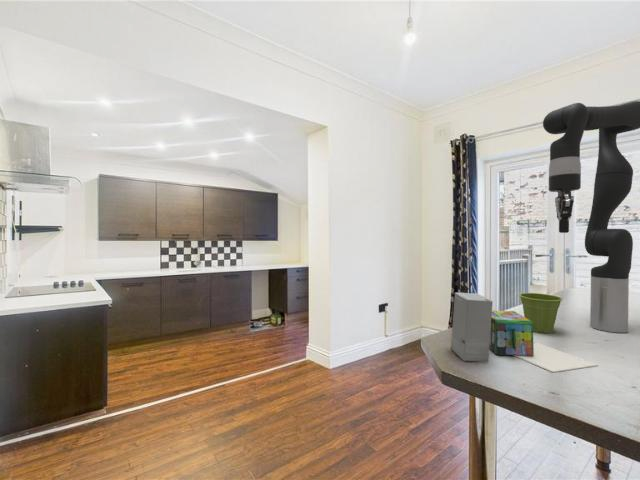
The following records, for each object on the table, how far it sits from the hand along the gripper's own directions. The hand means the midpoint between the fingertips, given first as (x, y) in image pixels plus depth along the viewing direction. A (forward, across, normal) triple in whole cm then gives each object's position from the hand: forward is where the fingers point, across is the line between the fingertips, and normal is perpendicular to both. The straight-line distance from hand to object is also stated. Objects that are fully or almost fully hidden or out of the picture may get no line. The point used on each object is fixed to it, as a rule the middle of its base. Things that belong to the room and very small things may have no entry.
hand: (563, 232), depth 93 cm
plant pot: (+32, +7, +5) cm, 33 cm away
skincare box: (+32, -28, +23) cm, 48 cm away
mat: (+32, -19, +7) cm, 38 cm away
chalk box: (+27, -12, +17) cm, 34 cm away
